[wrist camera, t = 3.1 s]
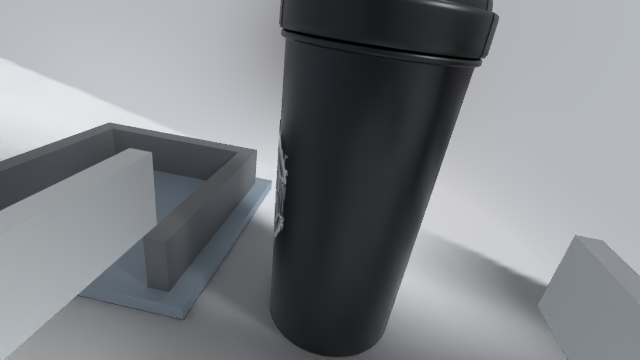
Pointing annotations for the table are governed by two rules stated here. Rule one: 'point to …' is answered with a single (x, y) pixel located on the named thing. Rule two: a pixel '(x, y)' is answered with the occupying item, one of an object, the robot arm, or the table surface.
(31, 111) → the table surface
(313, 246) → the water bottle
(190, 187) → the walled base tray
